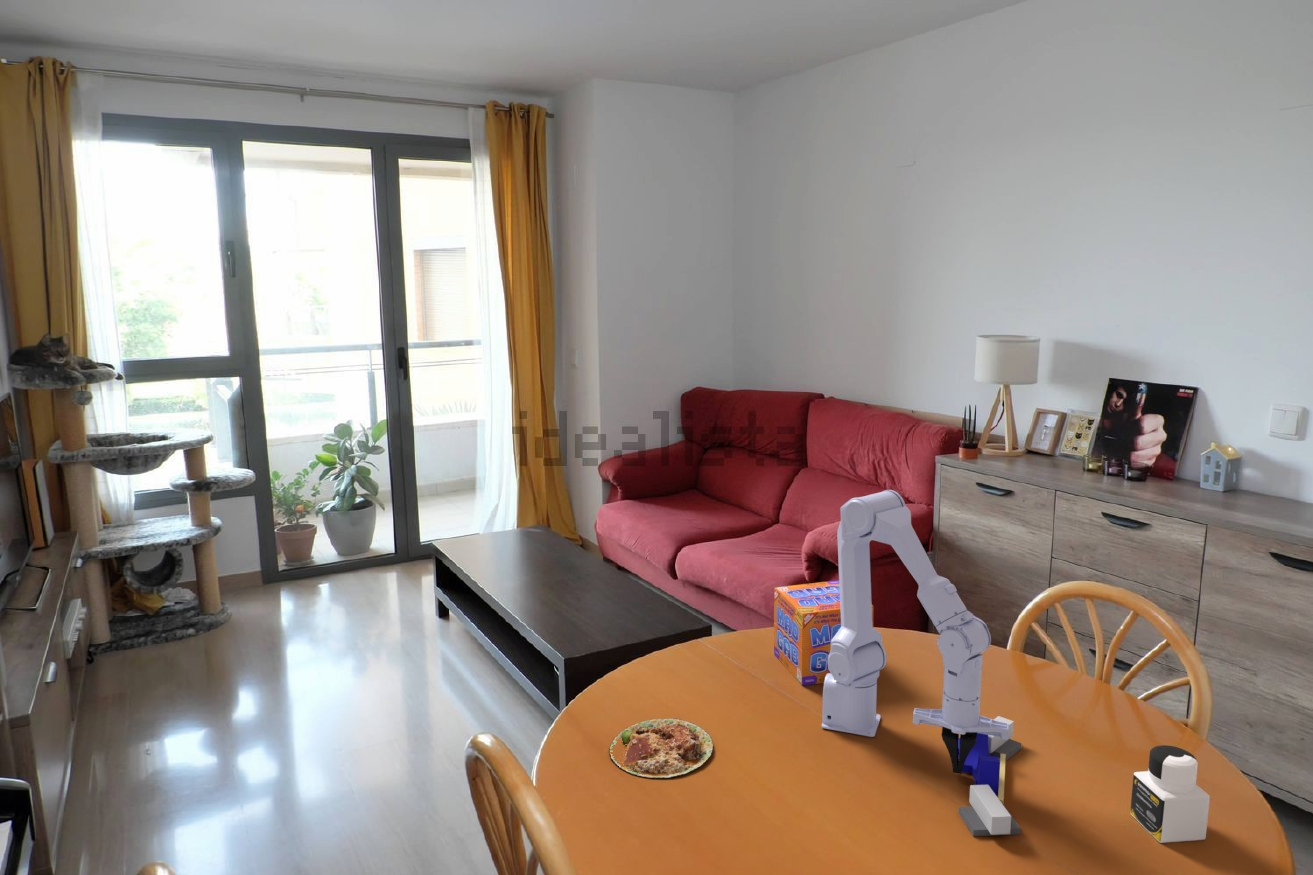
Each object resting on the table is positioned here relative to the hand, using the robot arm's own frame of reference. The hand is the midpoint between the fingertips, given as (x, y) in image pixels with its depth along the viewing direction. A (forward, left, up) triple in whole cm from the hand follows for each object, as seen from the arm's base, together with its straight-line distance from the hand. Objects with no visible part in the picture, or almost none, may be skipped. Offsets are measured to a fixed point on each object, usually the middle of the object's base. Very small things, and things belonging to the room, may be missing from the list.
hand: (957, 770), depth 142 cm
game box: (-30, +33, -1) cm, 44 cm away
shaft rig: (+5, 0, -1) cm, 5 cm away
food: (-48, -10, -2) cm, 49 cm away
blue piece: (+3, +2, -1) cm, 4 cm away
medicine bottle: (+29, -3, -1) cm, 30 cm away
